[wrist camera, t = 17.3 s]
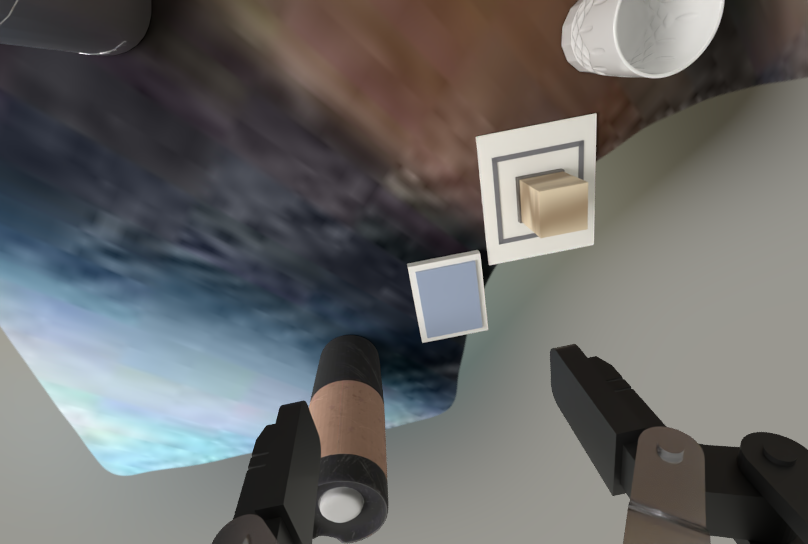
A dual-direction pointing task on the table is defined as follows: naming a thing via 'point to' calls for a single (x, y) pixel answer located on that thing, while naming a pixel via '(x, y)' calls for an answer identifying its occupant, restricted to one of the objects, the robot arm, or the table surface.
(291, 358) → the table surface
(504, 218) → the sheet
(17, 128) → the table surface
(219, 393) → the table surface
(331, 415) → the travel mug
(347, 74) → the table surface
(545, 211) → the stamp
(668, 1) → the white cup
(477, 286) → the ink pad
